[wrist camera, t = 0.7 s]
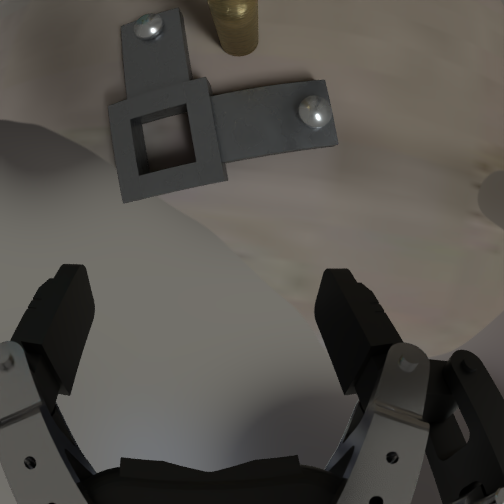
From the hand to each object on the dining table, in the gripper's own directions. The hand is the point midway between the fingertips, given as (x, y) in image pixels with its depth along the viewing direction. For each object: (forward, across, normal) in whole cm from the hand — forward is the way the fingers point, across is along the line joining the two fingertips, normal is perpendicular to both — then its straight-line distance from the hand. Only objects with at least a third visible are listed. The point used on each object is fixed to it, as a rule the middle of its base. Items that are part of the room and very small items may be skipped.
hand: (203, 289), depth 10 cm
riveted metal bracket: (+22, 0, -6) cm, 23 cm away
